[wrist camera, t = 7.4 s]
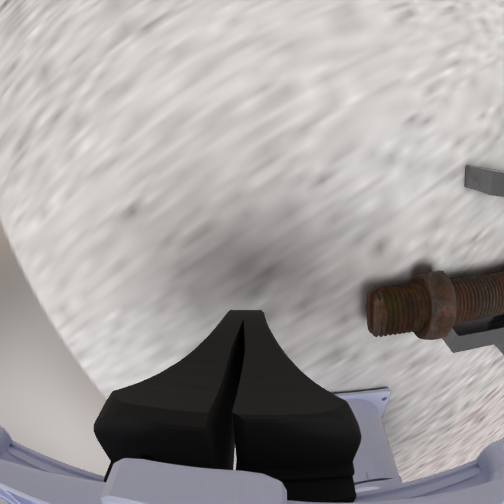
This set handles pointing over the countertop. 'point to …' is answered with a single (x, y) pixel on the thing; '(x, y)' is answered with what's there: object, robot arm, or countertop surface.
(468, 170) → the grey shallow rectangular tray
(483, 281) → the bolt
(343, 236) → the countertop surface
